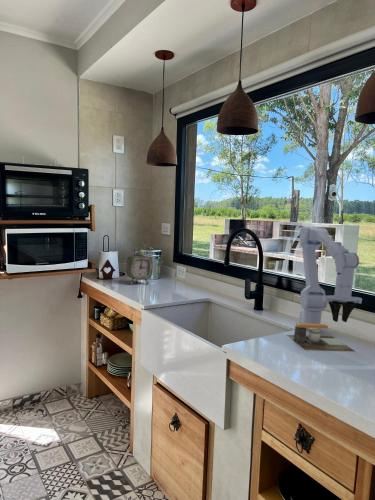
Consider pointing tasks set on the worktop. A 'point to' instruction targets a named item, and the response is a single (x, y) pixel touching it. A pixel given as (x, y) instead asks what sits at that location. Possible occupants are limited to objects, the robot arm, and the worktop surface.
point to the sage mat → (333, 341)
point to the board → (303, 341)
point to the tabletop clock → (139, 266)
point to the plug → (314, 335)
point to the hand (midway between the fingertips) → (339, 321)
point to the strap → (311, 325)
